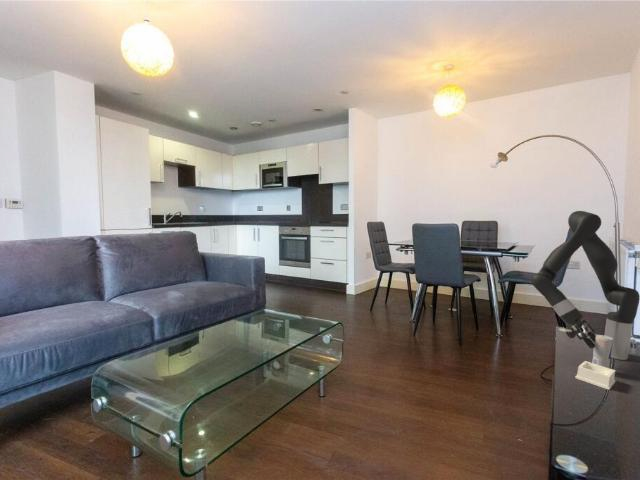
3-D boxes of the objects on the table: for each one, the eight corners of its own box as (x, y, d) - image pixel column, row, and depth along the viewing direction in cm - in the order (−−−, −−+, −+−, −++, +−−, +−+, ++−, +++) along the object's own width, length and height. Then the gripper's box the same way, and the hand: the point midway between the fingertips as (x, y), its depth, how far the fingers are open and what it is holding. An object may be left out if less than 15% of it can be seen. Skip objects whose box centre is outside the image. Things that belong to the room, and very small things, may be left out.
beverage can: (611, 375, 138) (616, 340, 136) (595, 373, 139) (600, 338, 137) (602, 369, 143) (607, 335, 142) (588, 367, 144) (592, 333, 143)
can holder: (582, 371, 140) (584, 360, 139) (615, 382, 132) (616, 370, 131) (575, 378, 133) (576, 366, 133) (609, 389, 125) (610, 377, 125)
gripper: (570, 309, 143) (600, 345, 135) (580, 305, 152) (609, 338, 144) (554, 318, 147) (582, 352, 139) (564, 313, 156) (592, 345, 148)
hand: (596, 345), depth 142 cm, fingers open, 8 cm apart
